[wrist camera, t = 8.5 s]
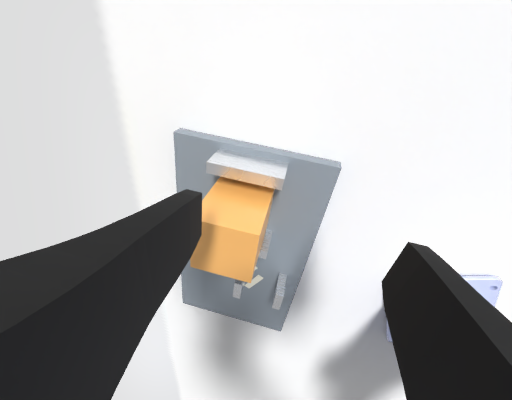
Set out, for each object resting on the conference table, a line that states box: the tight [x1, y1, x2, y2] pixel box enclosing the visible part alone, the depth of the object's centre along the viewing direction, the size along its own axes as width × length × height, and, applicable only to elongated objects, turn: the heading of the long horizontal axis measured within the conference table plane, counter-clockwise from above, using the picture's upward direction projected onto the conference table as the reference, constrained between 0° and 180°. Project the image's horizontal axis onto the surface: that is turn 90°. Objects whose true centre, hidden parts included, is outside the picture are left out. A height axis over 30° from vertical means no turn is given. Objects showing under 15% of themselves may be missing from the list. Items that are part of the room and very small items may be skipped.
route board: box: [174, 128, 341, 331], centre depth 23 cm, size 21×12×1 cm, turn 172°
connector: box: [190, 176, 275, 283], centre depth 17 cm, size 4×4×6 cm
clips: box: [233, 273, 287, 310], centre depth 22 cm, size 6×9×2 cm, turn 82°
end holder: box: [206, 148, 288, 259], centre depth 18 cm, size 7×5×2 cm
